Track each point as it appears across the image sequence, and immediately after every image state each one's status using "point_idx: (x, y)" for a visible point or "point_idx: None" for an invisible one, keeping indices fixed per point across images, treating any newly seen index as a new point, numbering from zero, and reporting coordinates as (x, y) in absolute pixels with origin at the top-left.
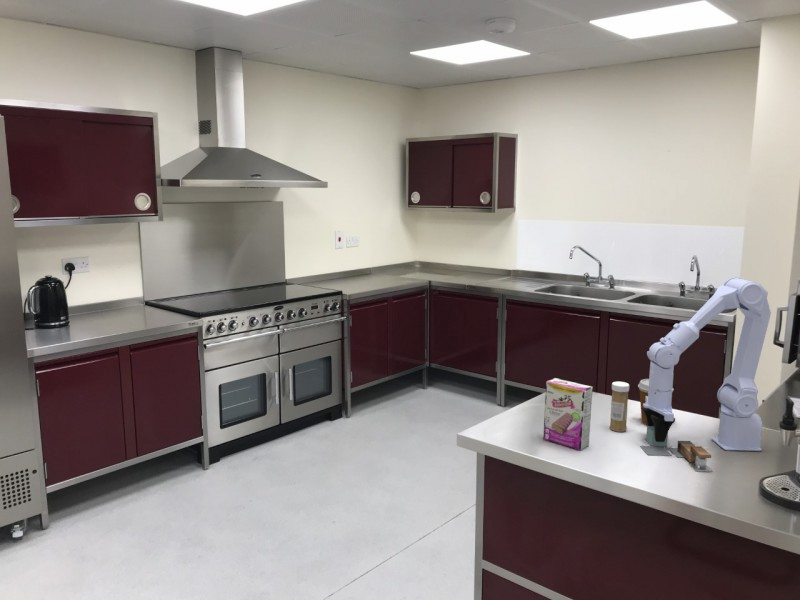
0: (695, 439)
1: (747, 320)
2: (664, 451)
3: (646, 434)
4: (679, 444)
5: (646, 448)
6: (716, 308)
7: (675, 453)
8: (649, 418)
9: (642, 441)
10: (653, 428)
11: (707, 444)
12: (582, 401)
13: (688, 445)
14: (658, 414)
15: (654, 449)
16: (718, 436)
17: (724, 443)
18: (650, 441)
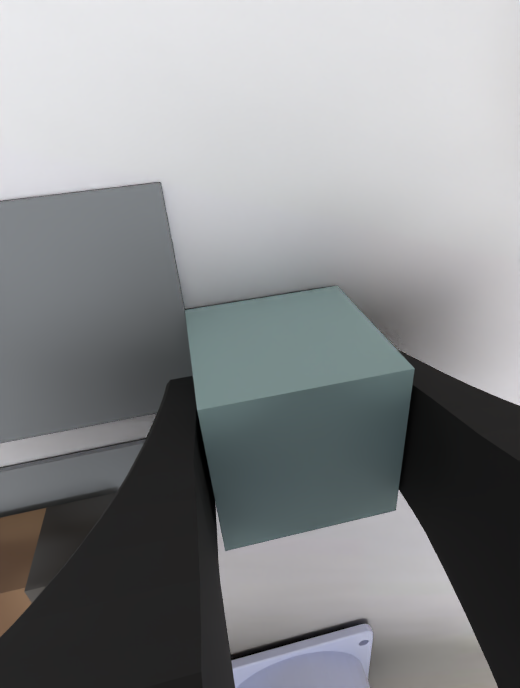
0: (367, 568)
1: None
2: (59, 401)
3: (361, 313)
4: (67, 559)
5: (81, 245)
6: None
7: (39, 473)
8: (492, 472)
9: (314, 245)
10: (323, 431)
11: (293, 608)
12: None
13: (10, 626)
14: (513, 630)
15: (80, 323)
16: (323, 685)
17: (260, 684)
18: (225, 321)
